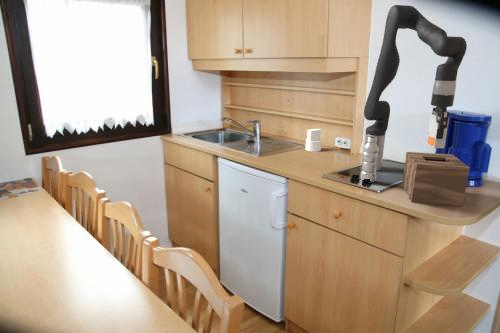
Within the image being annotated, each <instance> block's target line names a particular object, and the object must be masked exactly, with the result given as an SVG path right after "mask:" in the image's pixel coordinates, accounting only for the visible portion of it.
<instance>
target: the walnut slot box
mask: <svg viewBox="0 0 500 333" xmlns="http://www.w3.org/2000/svg"><path fill="white" fill-rule="evenodd" d="M404 160H405V162H404V166H403V168H404V169H403V174H402V175H403V176H402V183H401V186H402V188H403V190H404V192H405V194H406V195H407V197H408V199H409V201H410V202H411V203H416V204H417V203H419V204H433V205H440V206H441V205H443V206H451V207H452V206H453V207H455V206H456V207H463V206H464V202H465V195H466V191H467V185H468V180H469V175H470V168H471V167H470V166H468V165H467V164H466V163H464V162H463V161H462V160H461V159H459V158H458V157H456V156H455V155H454V154H451V153H450V154H449V153H432V152H415V151H406V152H405V159H404Z"/></svg>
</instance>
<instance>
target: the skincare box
mask: <svg viewBox="0 0 500 333" xmlns="http://www.w3.org/2000/svg"><path fill="white" fill-rule="evenodd" d="M440 118H441V117H438V120H440ZM449 121H450V118H449V119H448V124H447V128H445V129H444V134H443V139H437V138H436V135H437V129H438V128H437V126H438V123H436V116H435V115H432V114H430V118H429V125H428V131H427V132H428V133H427V138H426V146H429V147H432V148H433V149H445V146H446V141H447V140H446V139H447V133H448V127H449ZM442 125H443V123H442Z"/></svg>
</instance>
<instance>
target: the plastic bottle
mask: <svg viewBox="0 0 500 333" xmlns="http://www.w3.org/2000/svg"><path fill="white" fill-rule="evenodd" d="M367 141H368V143H367V144H366V145H365V146H364V145H363V149H362V154H363V155H362V162H363V167H362V166H361V172H360V180H361V181H362V180H364V179H370V181H371V182H370V183H374V182H376V178H377V171H376V161H377V156H378V152H379V148H378V146H377V144H376V142H377V137H368V140H367Z"/></svg>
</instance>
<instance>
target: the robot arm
mask: <svg viewBox="0 0 500 333" xmlns="http://www.w3.org/2000/svg"><path fill="white" fill-rule="evenodd" d="M399 29H401V30H402V29H403V30H406V29H408V30H409V29H410V30H412V31H414V32H416V33H417V37H418V38H419V40H420V41H421V42H423V43H424V44H426V45H427V46H428V47H430V49H431V51H432V52H433V53H434V54H435V55H437V56H439V57H441V58H447V59H446V60H445V62H444V63H440V64H438V65H437V66H436V70H435V78H434V83H433V88H432V92H431V93H432V94H431V100H430V105H431V106H433V107H432V114H431V115H435V116H436V123H438V126H437V128H438V129H437V135H436V138H437V139H443V134H444V129H445V128H447V124H448V125H449V122H448V119H449V120H450V112H449V111H447V110H448V107H449V108H451V107H453V106H454V100H455V94H456V90H457V89H456V88H457V77H458V72H459V71H458V70H459V68H460V66H461V64H462V62H463V59H464V57H465V54H466V52H467V42H466V39H465V38H464V37H462V36H452V35H451V36H448V34H447V32H446V30H444V29H443V28H442V27H439V26H438V25H436V24H435V23H432V22H431V21H429V20H428V18H426V16H424V15H423V14H422V13H421V12H420V11H419V10H418V9H417V8H415V7H414V6H413V5H404V4H403V5H402V4H393V5H392V6H391V7H390V8H389V10H388V13H387V15H386V21H385V26H384V33H383V39H382V43H381V48H380V53H379V56H378V60H377V63H376V67H375V71H374V75H373V80H372V83H371V88H370V91H369V93H368V95H367V98H366V101H365V105H364V109H363V116H364V119H365V120H367V121H375V122H374V123H373V124H371V125H369V126H367V127H366V128H365V134H364V135H365V136H364V143H363V144H364V145H363V147H364V146H365V145H366V144H367V143H368V141H367V140H368V137H377V142H376V144H377V146H378V148H379V152H378V156H377V161H376V172H377V171H381V170H382V165H383V157H384V149H385V140H386V132H387V131H388V127H389V121H390V116H391V115H390V114H391V106H390V104H389V101H387V100H380V99H381V96H382V94H383V92H384V91H385V90H386V88H388V86H389V85H390V84H391V83H392V82H393V81H394V79H395V78H396V76H397V75H398V74H397V73H398V70H399V66H400V60H401V58H400V53H399V51H398V48H397V47H398V46H397V42H396V40H397V34H398V30H399ZM438 117H441V118H440V120H438ZM442 123H443V125H442ZM447 129H448V128H447ZM362 167H363V161H362V164H361V168H362Z"/></svg>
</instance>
